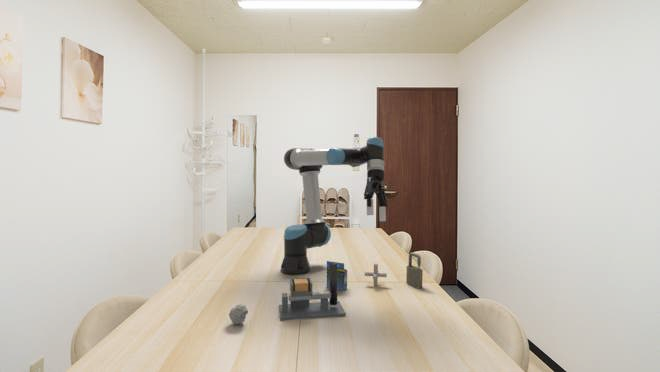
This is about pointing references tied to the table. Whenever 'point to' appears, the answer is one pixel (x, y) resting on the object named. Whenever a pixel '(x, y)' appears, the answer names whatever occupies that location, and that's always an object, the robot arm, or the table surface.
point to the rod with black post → (324, 295)
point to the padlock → (414, 272)
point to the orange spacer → (300, 285)
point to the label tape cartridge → (341, 276)
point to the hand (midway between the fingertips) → (376, 218)
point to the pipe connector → (375, 274)
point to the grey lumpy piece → (238, 314)
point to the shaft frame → (307, 306)
